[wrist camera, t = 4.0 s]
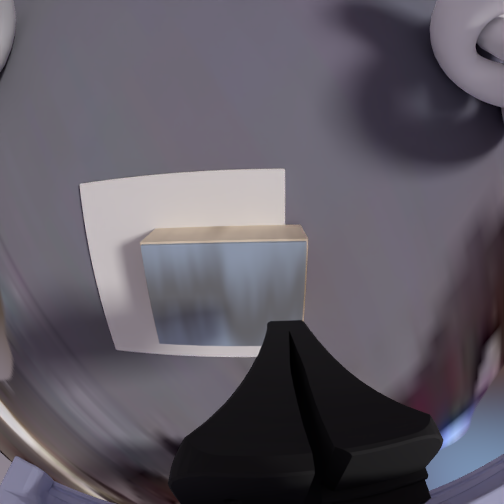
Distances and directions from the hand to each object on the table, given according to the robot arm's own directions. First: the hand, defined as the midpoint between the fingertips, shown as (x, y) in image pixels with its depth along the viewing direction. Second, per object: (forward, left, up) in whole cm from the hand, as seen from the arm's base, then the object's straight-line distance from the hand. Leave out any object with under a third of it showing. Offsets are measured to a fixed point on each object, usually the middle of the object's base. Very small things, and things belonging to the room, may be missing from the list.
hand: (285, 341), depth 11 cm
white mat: (0, +5, -6) cm, 8 cm away
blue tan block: (0, -1, -5) cm, 5 cm away
